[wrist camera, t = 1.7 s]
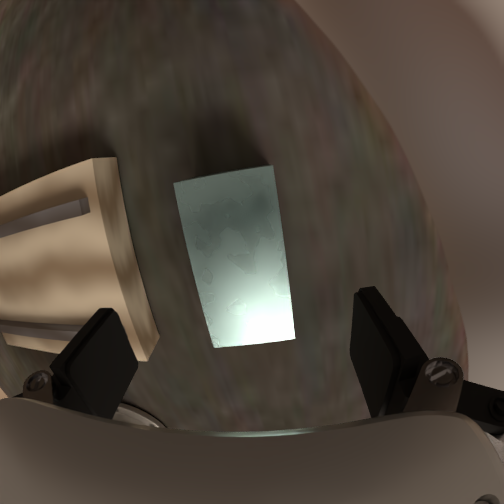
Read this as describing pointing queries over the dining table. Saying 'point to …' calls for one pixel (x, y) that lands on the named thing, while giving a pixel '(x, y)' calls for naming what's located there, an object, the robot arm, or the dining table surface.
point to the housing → (238, 254)
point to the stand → (70, 260)
